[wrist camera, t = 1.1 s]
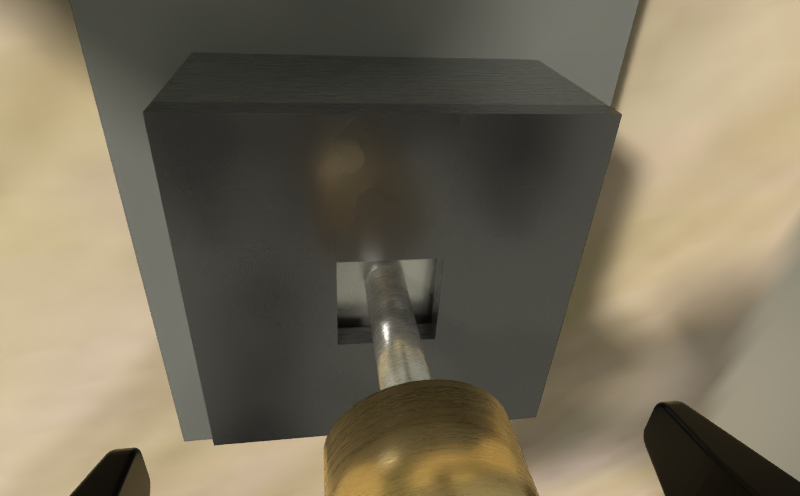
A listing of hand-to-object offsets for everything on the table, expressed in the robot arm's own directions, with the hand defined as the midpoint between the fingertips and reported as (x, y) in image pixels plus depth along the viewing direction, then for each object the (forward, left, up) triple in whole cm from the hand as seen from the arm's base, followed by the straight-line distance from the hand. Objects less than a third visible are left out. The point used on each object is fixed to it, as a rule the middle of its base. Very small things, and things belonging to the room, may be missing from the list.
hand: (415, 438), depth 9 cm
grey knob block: (0, 0, -8) cm, 8 cm away
